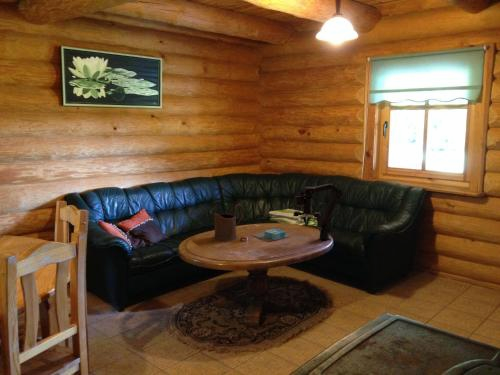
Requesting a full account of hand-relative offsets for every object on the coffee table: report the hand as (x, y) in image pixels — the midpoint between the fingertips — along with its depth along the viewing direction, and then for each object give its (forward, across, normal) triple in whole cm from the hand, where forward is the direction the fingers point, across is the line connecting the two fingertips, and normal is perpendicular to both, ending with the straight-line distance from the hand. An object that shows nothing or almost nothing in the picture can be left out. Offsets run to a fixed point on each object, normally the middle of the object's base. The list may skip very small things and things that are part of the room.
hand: (306, 226), depth 315 cm
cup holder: (+12, +58, +6) cm, 59 cm away
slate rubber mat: (+12, +28, -8) cm, 32 cm away
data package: (+9, +19, -1) cm, 22 cm away
